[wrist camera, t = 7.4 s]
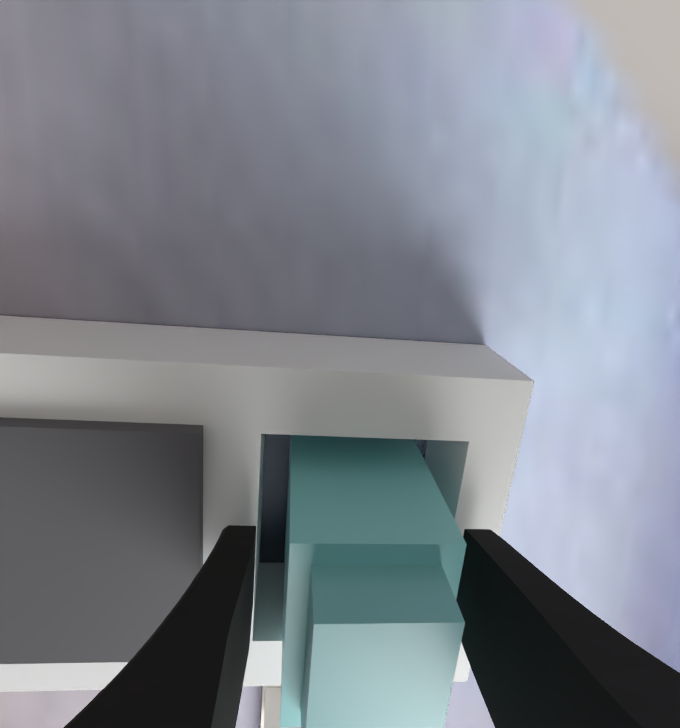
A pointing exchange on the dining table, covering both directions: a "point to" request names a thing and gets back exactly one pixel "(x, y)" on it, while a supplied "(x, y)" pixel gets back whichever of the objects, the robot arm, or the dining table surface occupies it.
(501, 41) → the dining table surface
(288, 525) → the plug
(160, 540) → the panel
